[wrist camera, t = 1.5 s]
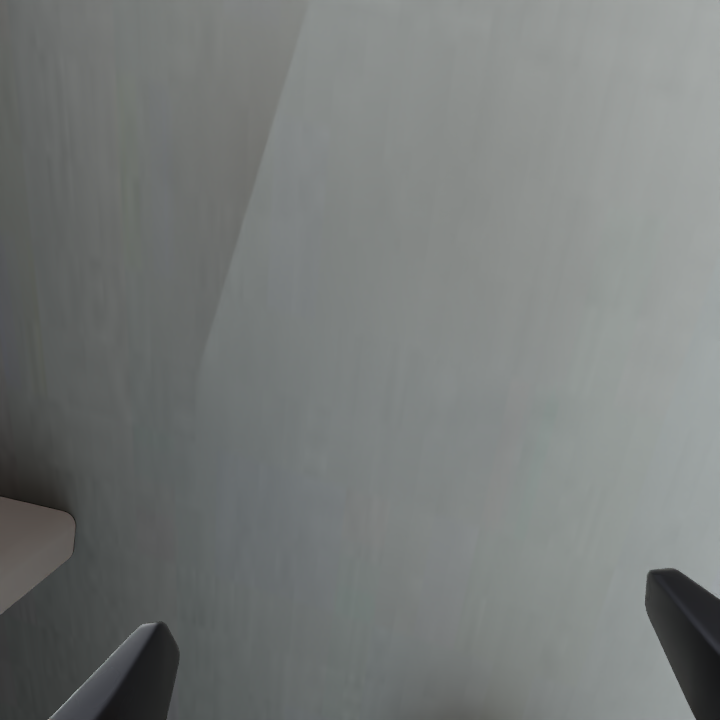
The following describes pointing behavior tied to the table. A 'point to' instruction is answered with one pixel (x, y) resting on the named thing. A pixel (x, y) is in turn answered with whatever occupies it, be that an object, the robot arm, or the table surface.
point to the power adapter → (30, 546)
